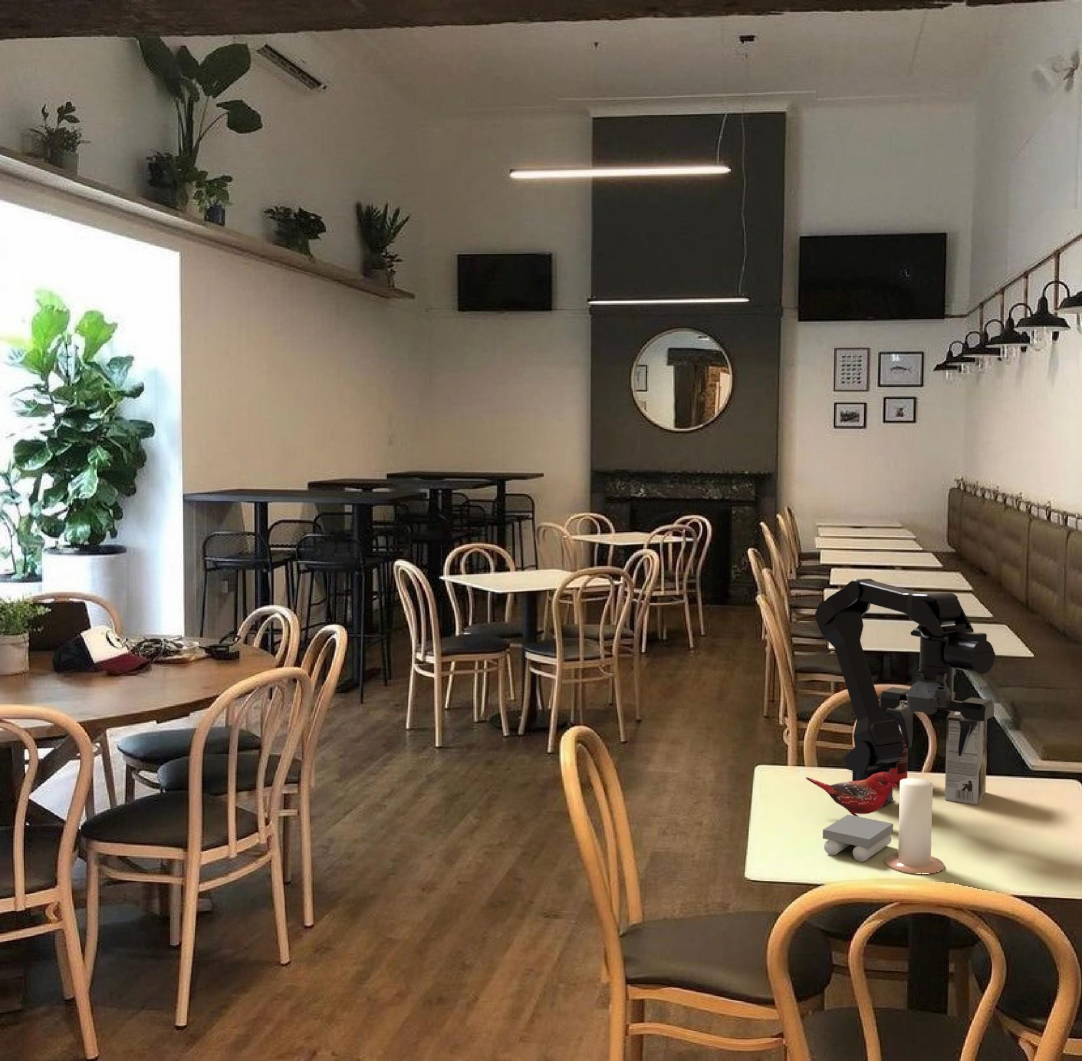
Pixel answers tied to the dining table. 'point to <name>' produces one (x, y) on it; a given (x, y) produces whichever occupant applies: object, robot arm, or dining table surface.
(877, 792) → the decorative bird figurine
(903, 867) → the pad
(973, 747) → the coffee box
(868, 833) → the slab on rollers
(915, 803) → the post
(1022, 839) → the dining table surface
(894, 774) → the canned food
